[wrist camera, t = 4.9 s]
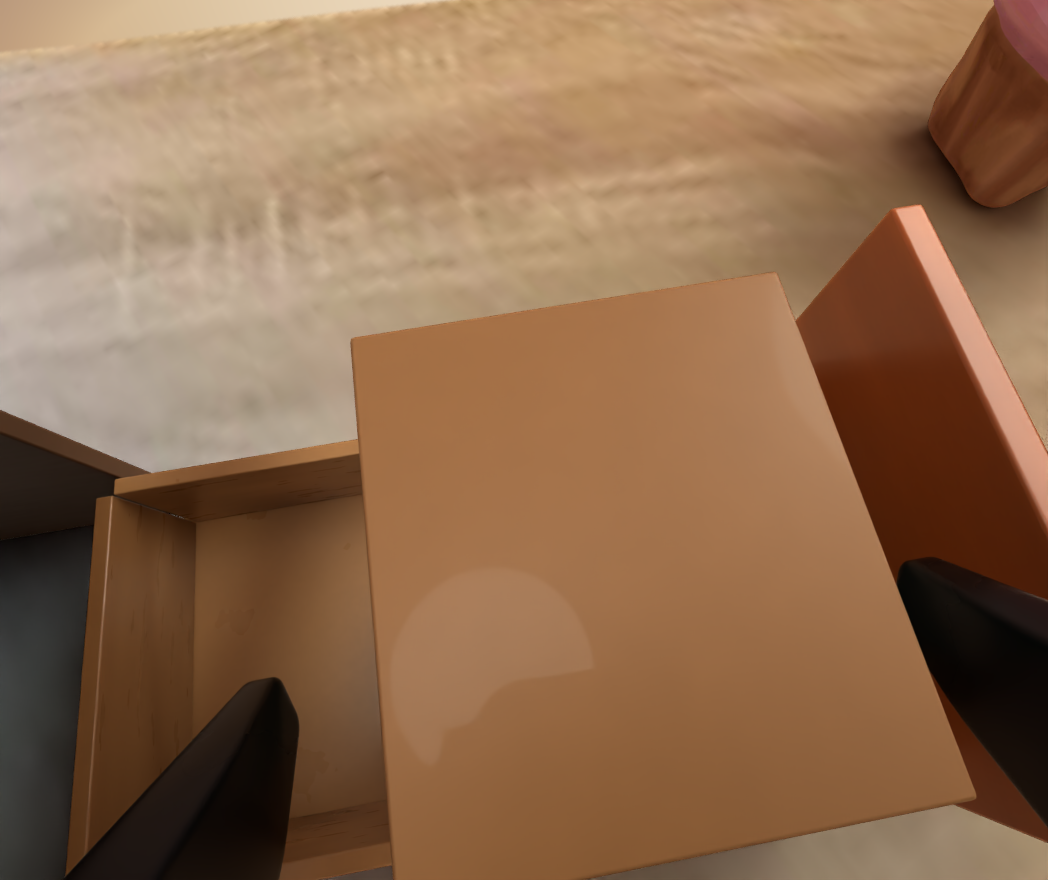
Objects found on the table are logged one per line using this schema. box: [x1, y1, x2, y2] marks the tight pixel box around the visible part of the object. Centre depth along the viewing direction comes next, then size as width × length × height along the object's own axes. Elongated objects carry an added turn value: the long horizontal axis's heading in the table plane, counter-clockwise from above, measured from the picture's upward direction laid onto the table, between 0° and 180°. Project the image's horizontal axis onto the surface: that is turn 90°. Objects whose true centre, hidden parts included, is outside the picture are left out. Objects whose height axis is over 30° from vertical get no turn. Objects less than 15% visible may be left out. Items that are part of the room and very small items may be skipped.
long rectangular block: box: [350, 272, 976, 880], centre depth 10 cm, size 5×5×11 cm
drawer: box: [65, 204, 1048, 880], centre depth 12 cm, size 19×10×9 cm, turn 100°
